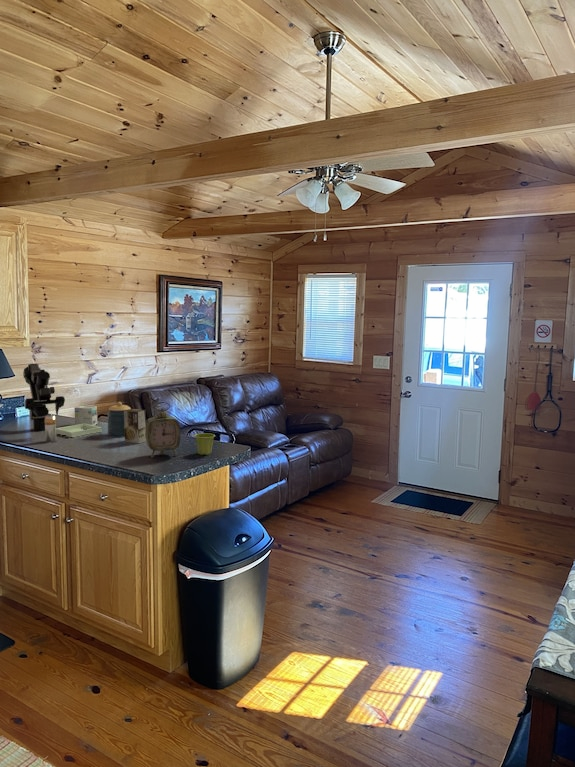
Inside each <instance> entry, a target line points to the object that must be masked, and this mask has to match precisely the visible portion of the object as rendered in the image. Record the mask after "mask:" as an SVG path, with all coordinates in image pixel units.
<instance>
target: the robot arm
mask: <svg viewBox="0 0 575 767" xmlns="http://www.w3.org/2000/svg"><path fill="white" fill-rule="evenodd" d="M22 374H23V379H24V380H25V382H26V384H28V385H29V389H30V394H31V397H30V398H25V400H24V409H25V410H28V411H29V419H30V420H31V421H32V427H33V428H30V430H31V431H34V432H41V431H45V416H47V415H48V414H50V412H49V411H50V410H49V409H48V407H47V406H46V405H53V404H54V407H55V408H54V409H55V414H56V415H55V416H58V413H59V409H60V408H62V407H64V405H65V401H66V399H65V396H64V395H63V396H61V395H59V396H58V395H57V396H56V397H55V399H51V398H52V394H54V395H55V391H56V390H55V386H50V387H48V386H49V385H48V384H49V381H50V379H51V375H50V373H49V372H48V371H46V369H41V368H40V366H39V363H29V364H27V366H26V367H24V368H23V372H22Z"/></svg>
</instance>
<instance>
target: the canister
mask: <svg viewBox="0 0 575 767" xmlns="http://www.w3.org/2000/svg"><path fill="white" fill-rule="evenodd" d="M129 409H132V408H131V407H130V406H129V405H127V404H123V403H122V402H121V401H118V402H117V403H116V405H115V404H114V405H111V406H110V407H109V408H108V412H106V414H107V420H106V421H107V435H108V437H109V436H110V437H112V436H113V438H118V437H119V438H121V437H123V438H125V425H124V411H125V410H129Z"/></svg>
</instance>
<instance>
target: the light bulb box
mask: <svg viewBox="0 0 575 767" xmlns="http://www.w3.org/2000/svg"><path fill="white" fill-rule="evenodd" d="M97 407H98V406H96V405H95V406H94V405H92V406H91V405H79V406H75V407H74V425H78V424H89V425H94V426H97V425H98V409H97ZM96 424H97V425H96Z"/></svg>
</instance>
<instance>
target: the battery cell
mask: <svg viewBox="0 0 575 767" xmlns="http://www.w3.org/2000/svg"><path fill="white" fill-rule="evenodd" d="M56 416H57V415H55V414H52V413H48V415H47V416H45V430H44V431H45V434H44V435H45V443H47V442H52V443H56V442H57V434H56V428H57V419H56ZM55 441H56V442H55Z"/></svg>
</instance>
